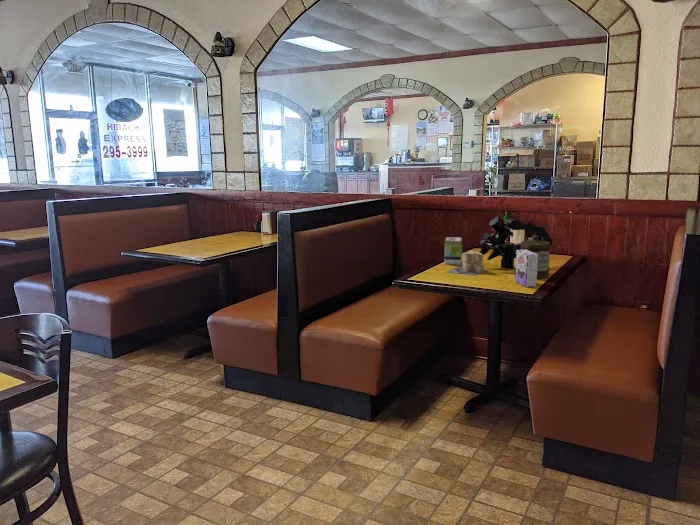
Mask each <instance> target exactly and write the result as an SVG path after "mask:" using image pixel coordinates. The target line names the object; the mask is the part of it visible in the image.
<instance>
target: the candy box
mask: <svg viewBox="0 0 700 525" xmlns="http://www.w3.org/2000/svg"><path fill="white" fill-rule="evenodd" d="M515 259H516V260H515V282H516V283H518V284H519V285H521V286H523V287H524V286H525V288H537V284H538V283H537V282H538V279H537V267H538V254H535V253H533V252H531V251H529V250H517V251H516V258H515Z"/></svg>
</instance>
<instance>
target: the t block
mask: <svg viewBox="0 0 700 525" xmlns="http://www.w3.org/2000/svg"><path fill="white" fill-rule="evenodd" d="M483 261H484V255H483V254H481V253H480V252H477V251H474V250H467V251H465V252H462V257H461V267H462V270H463V271H467V272H469V271H475V272H482V273H484V272H483V269H484V268H483V266H484V262H483Z"/></svg>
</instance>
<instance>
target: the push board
mask: <svg viewBox="0 0 700 525" xmlns="http://www.w3.org/2000/svg"><path fill="white" fill-rule="evenodd" d="M486 271H488V268H483V272H475V271H469V272H467V271H463V270H462V266H457V267H455V268H450V270H449V271H447V272H446V274H455V275H466V276H475V277H477V276H479V275H481V274H482V273H484V272H486Z"/></svg>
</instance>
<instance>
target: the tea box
mask: <svg viewBox="0 0 700 525" xmlns="http://www.w3.org/2000/svg"><path fill="white" fill-rule="evenodd" d="M462 251H463V237H458V236H457V237H456V236H455V237H453V236H452V237H451V236H449V237H448V236H447V237H445V239H444V259H443V260H444V263H443V264H444V265H453V266H454V265H455V266H457V265H458V266H459V265H460V266H462V257H463V252H462Z"/></svg>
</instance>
